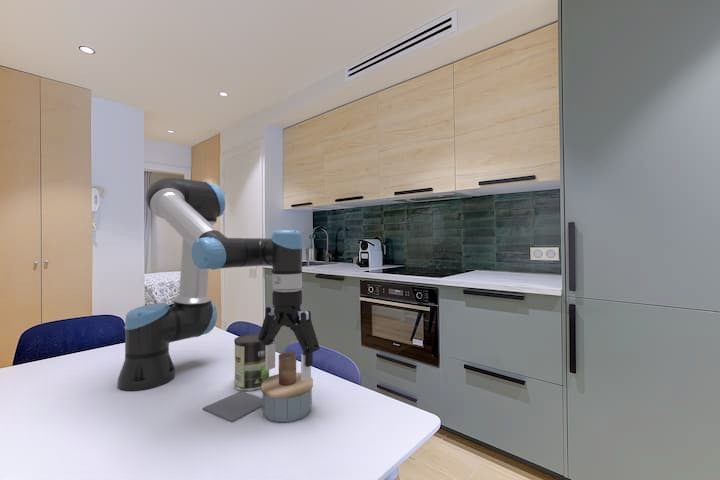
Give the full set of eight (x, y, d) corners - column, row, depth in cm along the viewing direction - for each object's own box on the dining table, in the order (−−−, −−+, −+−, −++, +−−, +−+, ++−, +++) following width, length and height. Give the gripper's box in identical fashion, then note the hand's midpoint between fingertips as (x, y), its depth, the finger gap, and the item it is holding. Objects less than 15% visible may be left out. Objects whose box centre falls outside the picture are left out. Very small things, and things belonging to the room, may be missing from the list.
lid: (250, 390, 84) (250, 357, 84) (287, 373, 94) (287, 344, 95) (287, 403, 77) (287, 367, 77) (323, 383, 87) (323, 352, 88)
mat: (202, 409, 86) (202, 407, 86) (241, 392, 96) (241, 390, 96) (231, 422, 80) (231, 421, 80) (270, 402, 90) (270, 401, 90)
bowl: (253, 413, 84) (253, 390, 84) (287, 395, 94) (287, 374, 94) (287, 428, 77) (287, 402, 77) (320, 406, 87) (320, 383, 87)
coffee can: (275, 378, 106) (275, 334, 106) (259, 392, 96) (259, 343, 96) (245, 376, 108) (245, 332, 108) (227, 389, 98) (227, 341, 98)
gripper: (244, 288, 89) (244, 368, 89) (313, 295, 76) (314, 389, 76) (266, 285, 96) (266, 360, 95) (333, 291, 82) (333, 378, 82)
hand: (287, 373), depth 86 cm, fingers open, 12 cm apart
